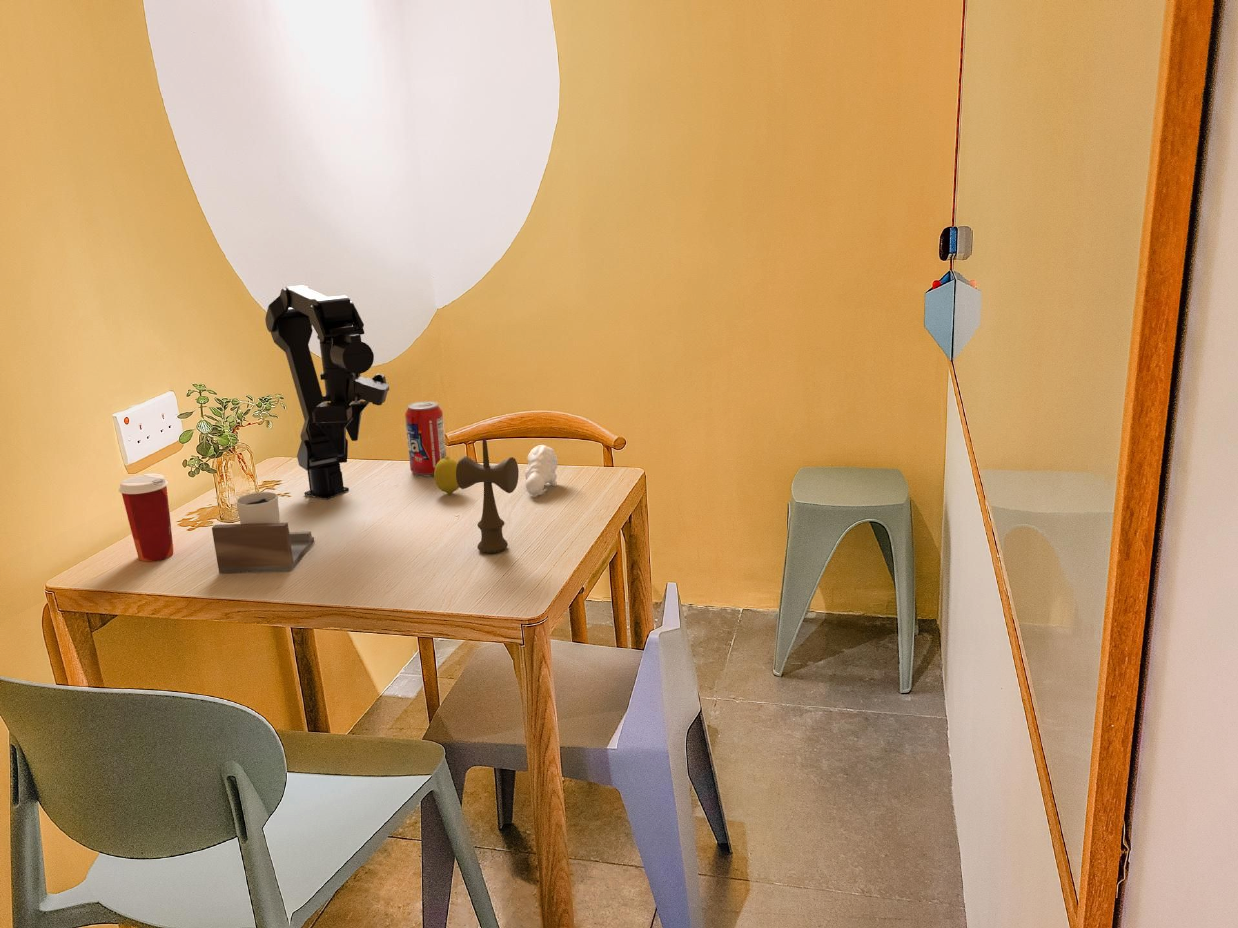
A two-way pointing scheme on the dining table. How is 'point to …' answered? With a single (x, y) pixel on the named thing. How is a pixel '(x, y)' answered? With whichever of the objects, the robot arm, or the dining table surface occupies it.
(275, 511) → the white cup
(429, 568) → the dining table surface
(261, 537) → the holder
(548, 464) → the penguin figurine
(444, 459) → the lemon
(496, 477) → the kendama
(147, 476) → the paper cup
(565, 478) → the dining table surface
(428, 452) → the soda can
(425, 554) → the dining table surface
